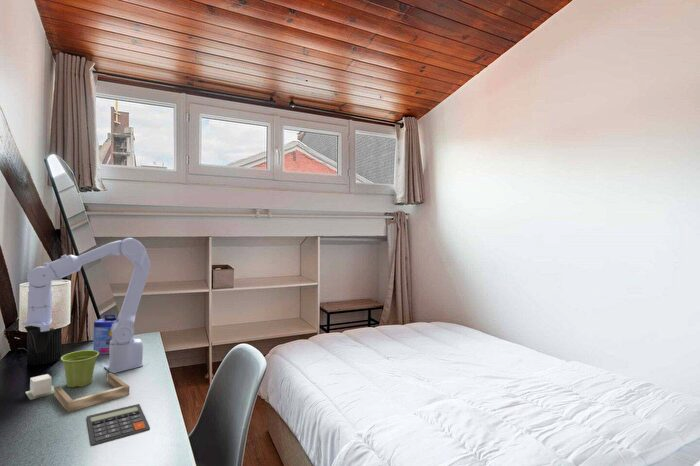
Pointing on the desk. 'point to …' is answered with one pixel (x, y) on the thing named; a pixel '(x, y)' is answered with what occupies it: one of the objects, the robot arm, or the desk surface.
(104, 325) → the ink cartridge box
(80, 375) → the plant pot
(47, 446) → the desk surface
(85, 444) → the desk surface
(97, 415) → the calculator
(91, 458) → the desk surface
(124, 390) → the brown bent bar
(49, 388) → the cream block
